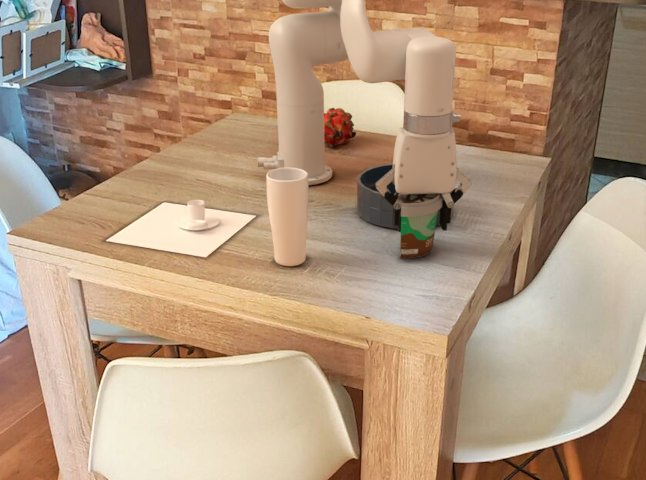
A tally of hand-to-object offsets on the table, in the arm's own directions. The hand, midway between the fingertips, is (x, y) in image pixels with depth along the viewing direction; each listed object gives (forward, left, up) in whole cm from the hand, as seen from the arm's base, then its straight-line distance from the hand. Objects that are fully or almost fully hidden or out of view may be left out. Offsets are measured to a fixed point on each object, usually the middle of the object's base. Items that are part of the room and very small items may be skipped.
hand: (421, 227), depth 139 cm
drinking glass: (-22, -2, -5) cm, 23 cm away
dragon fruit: (-9, +62, -5) cm, 63 cm away
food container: (0, 0, -4) cm, 4 cm away
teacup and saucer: (-41, +14, -5) cm, 44 cm away
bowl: (0, +18, -4) cm, 18 cm away
